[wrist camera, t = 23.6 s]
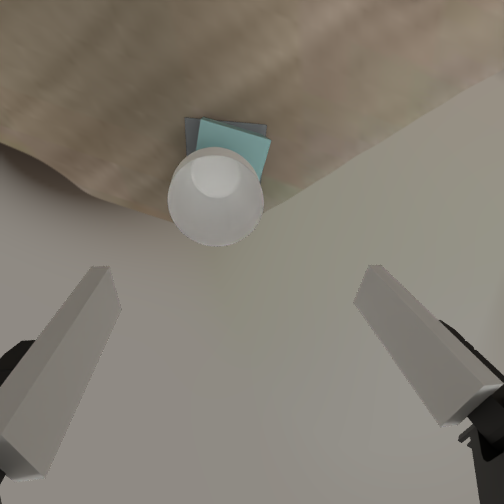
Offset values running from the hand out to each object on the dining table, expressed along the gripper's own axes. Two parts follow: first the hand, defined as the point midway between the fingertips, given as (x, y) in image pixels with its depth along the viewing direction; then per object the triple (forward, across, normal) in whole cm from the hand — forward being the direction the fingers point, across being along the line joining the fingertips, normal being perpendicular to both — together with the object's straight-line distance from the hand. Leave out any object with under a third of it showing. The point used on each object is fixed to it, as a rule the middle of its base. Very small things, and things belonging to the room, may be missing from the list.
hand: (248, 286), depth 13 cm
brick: (+30, 0, 0) cm, 30 cm away
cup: (+24, -2, 0) cm, 24 cm away
